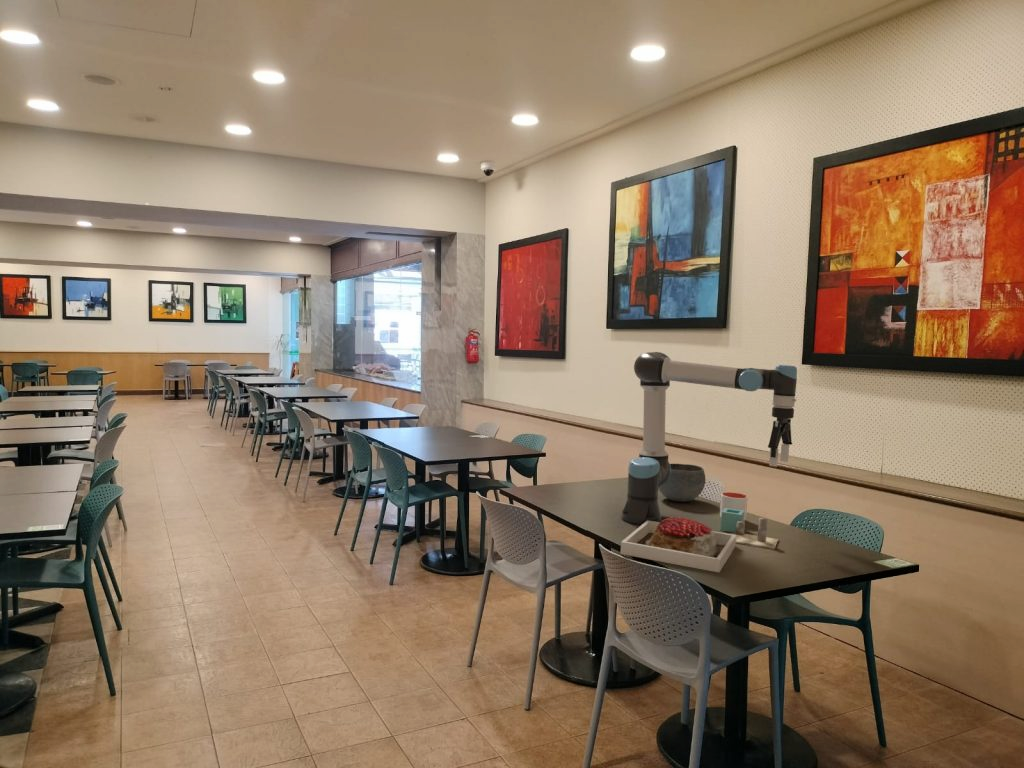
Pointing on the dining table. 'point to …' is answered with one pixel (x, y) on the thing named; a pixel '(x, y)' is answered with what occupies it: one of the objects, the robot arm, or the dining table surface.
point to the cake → (684, 537)
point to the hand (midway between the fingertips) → (778, 463)
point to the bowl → (683, 482)
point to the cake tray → (677, 557)
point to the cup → (734, 502)
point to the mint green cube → (731, 519)
